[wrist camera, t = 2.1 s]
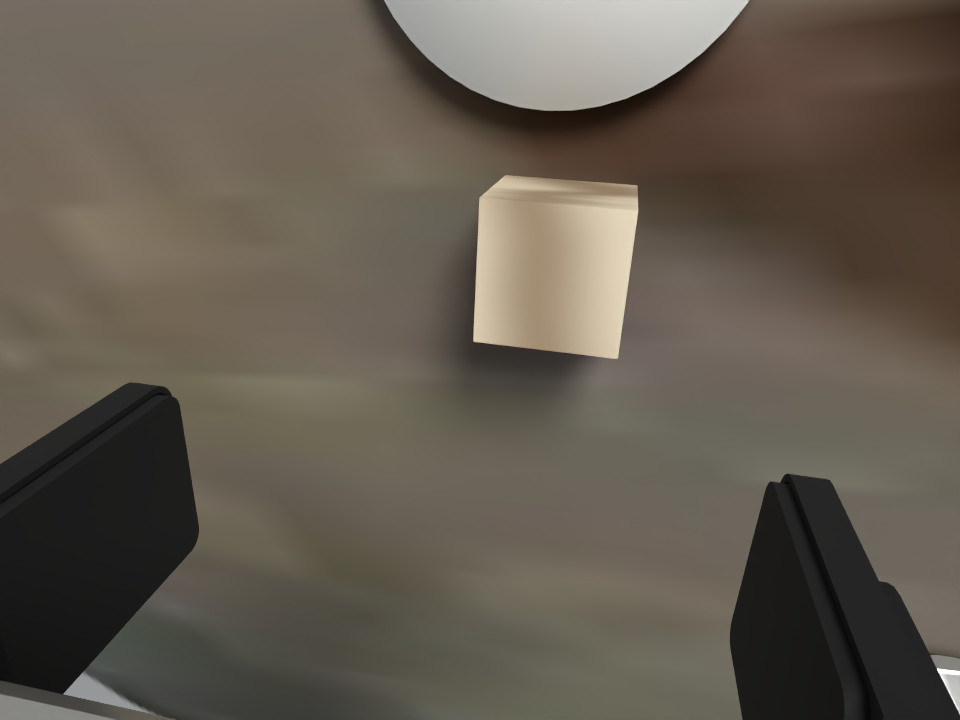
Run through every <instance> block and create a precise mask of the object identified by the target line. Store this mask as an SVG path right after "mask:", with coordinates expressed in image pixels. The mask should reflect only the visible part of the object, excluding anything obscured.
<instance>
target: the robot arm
mask: <svg viewBox="0 0 960 720" xmlns="http://www.w3.org/2000/svg"><path fill="white" fill-rule="evenodd" d="M198 534H199V525H198V518H197V512H196V506H195V499H194V493H193V487H192V480H191V474H190V468H189V461H188V455H187V449H186V442H185V436H184V430H183V423H182V417H181V411H180V405H179V402H178V401H177V399H176V398H174V397H172V395H171V393H170V391H169V390H168V389H167V388H165V387H162V386H155V385H148V384H141V383H128V384H125V385H123V386H122V387H120V388H119V389H117V390H116V391H114V392H112V393H111V394H109V395H108V396H106V397H105V398H103V399H101V400H100V401H98V402H97V403H95V404H94V405H92V406H91V407H89V408H87V409H86V410H84V411H83V412H81V413H80V414H78V415H76V416H75V417H73V418H72V419H70V420H69V421H67V422H66V423H64V424H62V425H61V426H59V427H58V428H56V429H55V430H53V431H51V432H50V433H48V434H47V435H45V436H44V437H42V438H40V439H39V440H37V441H36V442H34V443H33V444H31V445H30V446H28V447H26V448H25V449H23V450H22V451H20V452H19V453H17V454H15V455H14V456H12V457H11V458H9V459H8V460H6V461H4V462H3V463H1V464H0V720H175V719H171V718H166V717H162V716H158V715H153V714H149V713H144V712H140V711H136V710H131V709H126V708H122V707H117V706H113V705H109V704H104V703H99V702H95V701H90V700H86V699H81V698H77V697H72V696H68V695H63V693H64V692H65V691H66V690H67V689H68V688H69V687H70V686H71V685H72V684H73V682H74V681H75V680H76V679H77V678H78V677H79V676H80V675H81V673H82V672H83V671H84V670H85V669H86V668H87V667H88V666H89V665H90V663H91V662H92V661H93V660H94V659H95V658H96V657H97V656H98V655H99V653H100V652H101V651H102V650H103V649H104V648H105V647H106V646H107V644H108V643H109V642H110V641H111V640H112V639H113V638H114V637H115V636H116V634H117V633H118V632H119V631H120V630H121V629H122V628H123V627H124V626H125V624H126V623H127V622H128V621H129V620H130V619H131V618H132V617H133V615H134V614H135V613H136V612H137V611H138V610H139V609H140V608H141V607H142V605H143V604H144V603H145V602H146V601H147V600H148V599H149V598H150V597H151V595H152V594H153V593H154V592H155V591H156V590H157V589H158V588H159V586H160V585H161V584H162V583H163V582H164V581H165V580H166V579H167V578H168V576H169V575H170V574H171V573H172V572H173V571H174V570H175V569H176V568H177V566H178V565H179V564H180V563H181V562H182V561H183V560H184V559H185V558H186V556H187V555H188V554H189V553H190V552H191V551H192V549H193V548H194V546H195V544H196V542H197V539H198ZM730 647H731V654H732V660H733V666H734V672H735V677H736V683H737V689H738V695H739V701H740V707H741V713H742V718H743V720H960V659H959V658H954V657H948V656H942V655H930V654H929V652H928V650H927V648H926V646H925V644H924V642H923V640H922V638H921V636H920V634H919V632H918V630H917V628H916V626H915V624H914V622H913V620H912V618H911V616H910V614H909V612H908V610H907V608H906V606H905V604H904V602H903V600H902V598H901V596H900V595H899V593H898V592H897V590H896V589H895V588H894V586H892V585H890V584H889V583H886V582H880V581H879V580H878V578H877V576H876V574H875V572H874V570H873V568H872V566H871V564H870V562H869V559H868V557H867V555H866V553H865V551H864V549H863V547H862V545H861V543H860V541H859V539H858V536H857V534H856V532H855V530H854V528H853V526H852V524H851V522H850V520H849V518H848V516H847V513H846V511H845V509H844V507H843V505H842V503H841V501H840V499H839V497H838V495H837V493H836V490H835V488H834V486H833V484H832V483H831V481H830V480H827V479H821V478H814V477H807V476H800V475H792V474H786V475H784V477H783V478H782V480H781V483H777V482H769V483H768V485H767V487H766V490H765V494H764V498H763V502H762V506H761V510H760V513H759V517H758V521H757V525H756V529H755V533H754V537H753V541H752V544H751V548H750V552H749V556H748V560H747V564H746V568H745V572H744V575H743V579H742V583H741V587H740V591H739V595H738V599H737V603H736V606H735V610H734V614H733V618H732V622H731V629H730Z"/></svg>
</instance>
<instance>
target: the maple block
mask: <svg viewBox="0 0 960 720" xmlns="http://www.w3.org/2000/svg"><path fill="white" fill-rule="evenodd" d="M637 216H638V192H637V185H624V184H611V183H598V182H585V181H573V180H560V179H547V178H534V177H521V176H509V175H505V176H504V177H503V178H502V179H501V180H499V181H498V182H497V183H496V184H495V185H494V186H492V187H491V188H490V189H489V190H488V191H487V192H486V193H484V194H483V195H482V196H481V197H480V200H479V223H478V246H477V268H476V291H475V314H474V337H473V342H481V343H489V344H497V345H506V346H514V347H522V348H531V349H539V350H547V351H555V352H564V353H572V354H580V355H589V356H597V357H605V358H614V359H618V353H619V345H620V338H621V331H622V324H623V317H624V309H625V302H626V295H627V288H628V281H629V273H630V266H631V259H632V252H633V245H634V237H635V230H636V223H637Z"/></svg>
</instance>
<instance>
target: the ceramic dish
mask: <svg viewBox="0 0 960 720" xmlns="http://www.w3.org/2000/svg"><path fill="white" fill-rule="evenodd" d="M384 1H385V3H386V5H387V6H388V8H389V10H390V12H391V13H392V15H393V17H394V19H395V20H396V21H397V23H398V24H399V25H400V27H401V28H402V29H403V31H404V32H405V33H406V35H407V36H408V38H409V39H410V40H411V41H412V42H413V43H414V44H415V46H416V47H417V48H418V49H419V50H420V51H421V52H422V53H423V54H424V55H425V56H426V57H427V58H428V59H429V60H430V61H431V62H432V63H434V64H435V65H436V66H437V67H438V68H440V69H441V70H442V71H443V72H445V73H446V74H447V75H448V76H450V77H451V78H453V79H454V80H456V81H458V82H459V83H461V84H463V85H464V86H466V87H467V88H469V89H471V90H473V91H475V92H477V93H479V94H482V95H484V96H486V97H489V98H491V99H493V100H496V101H499V102H503V103H506V104H510V105H513V106H517V107H521V108H529V109H536V110H544V111H572V110H579V109H586V108H592V107H599V106H602V105H606V104H609V103H613V102H616V101H620V100H623V99H626V98H629V97H631V96H633V95H635V94H638V93H640V92H642V91H645V90H647V89H649V88H651V87H653V86H655V85H657V84H658V83H660V82H662V81H663V80H665V79H667V78H668V77H670V76H672V75H673V74H675V73H677V72H678V71H680V70H681V69H682V68H683V67H685V66H686V65H687V64H689V63H690V62H691V61H692V60H694V59H695V58H696V57H698V56H699V55H700V54H702V53H703V52H704V51H705V50H706V49H707V48H708V47H709V46H710V45H711V44H712V43H713V42H714V41H715V40H716V39H717V38H718V37H719V36H720V35H721V34H722V33H723V32H724V31H725V30H726V29H727V28H728V27H729V25H730V24H731V23H732V22H733V20H734V19H735V18H736V17H737V16H738V14H739V13H740V12H741V11H742V9H743V8H744V7H745V6H746V5H747V3H748V1H749V0H384Z"/></svg>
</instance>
